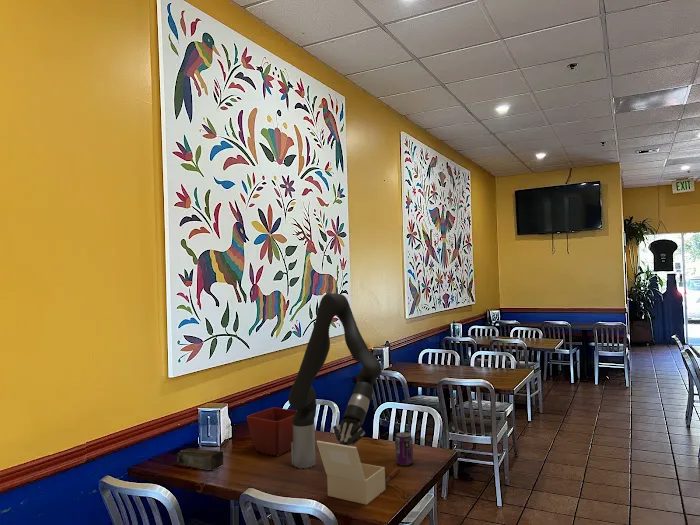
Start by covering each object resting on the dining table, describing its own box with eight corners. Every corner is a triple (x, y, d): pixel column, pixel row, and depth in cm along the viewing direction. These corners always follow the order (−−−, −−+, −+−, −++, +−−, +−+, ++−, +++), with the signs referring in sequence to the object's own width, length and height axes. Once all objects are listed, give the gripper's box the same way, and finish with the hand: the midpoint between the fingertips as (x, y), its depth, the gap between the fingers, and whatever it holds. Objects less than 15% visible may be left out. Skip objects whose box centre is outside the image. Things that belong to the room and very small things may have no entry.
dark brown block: (189, 460, 223) (189, 445, 223) (224, 465, 215) (224, 450, 215) (176, 467, 215) (176, 451, 216) (212, 472, 208) (212, 456, 208)
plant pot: (305, 447, 234) (304, 411, 235) (278, 460, 218) (277, 421, 219) (274, 441, 245) (273, 406, 245) (246, 453, 229) (245, 416, 229)
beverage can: (412, 466, 205) (411, 437, 206) (395, 466, 207) (394, 436, 207) (413, 460, 212) (412, 432, 213) (397, 460, 214) (396, 431, 214)
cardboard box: (327, 495, 180) (327, 473, 181) (348, 481, 192) (347, 460, 193) (366, 504, 172) (365, 480, 172) (385, 489, 184) (384, 467, 184)
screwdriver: (397, 471, 202) (396, 466, 202) (400, 471, 201) (400, 466, 201) (381, 486, 188) (381, 480, 188) (384, 486, 187) (384, 481, 187)
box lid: (327, 472, 181) (326, 474, 180) (317, 440, 177) (316, 441, 176) (365, 480, 172) (364, 482, 172) (356, 447, 168) (355, 448, 168)
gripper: (337, 402, 186) (320, 445, 175) (368, 405, 179) (352, 451, 168) (345, 413, 190) (329, 456, 179) (376, 416, 183) (361, 461, 173)
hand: (340, 453), depth 174 cm, fingers closed
